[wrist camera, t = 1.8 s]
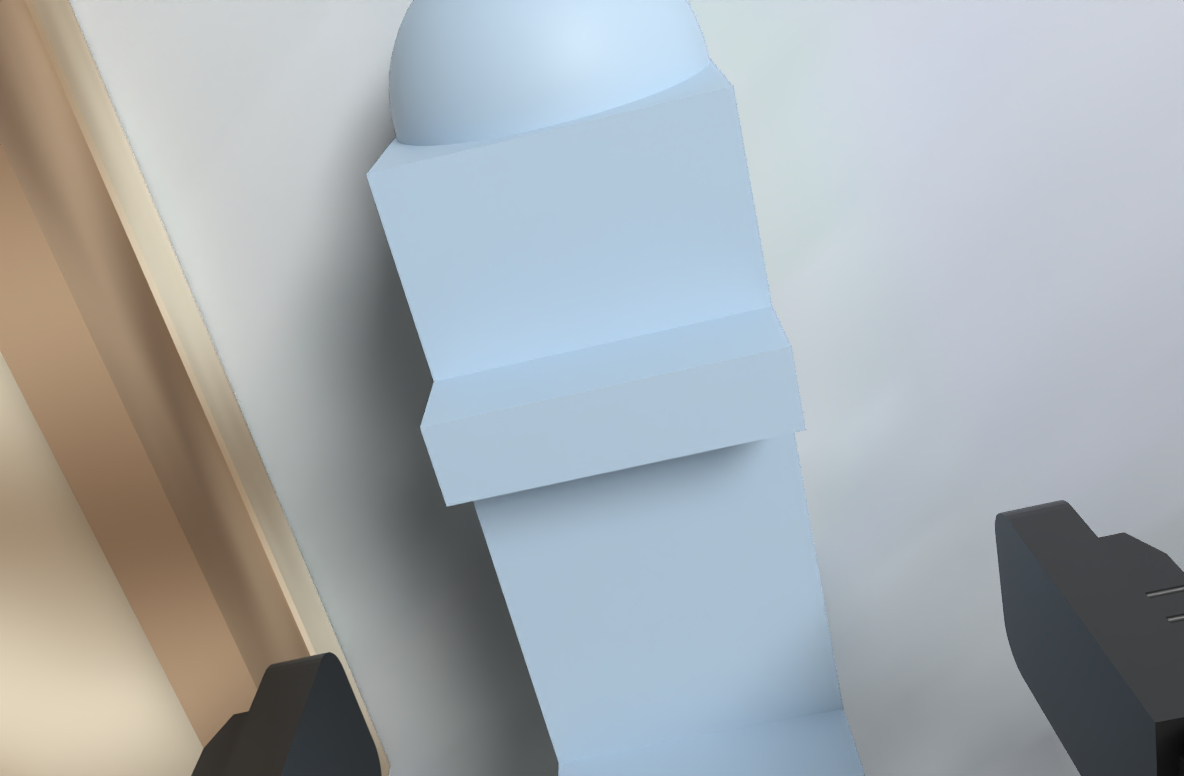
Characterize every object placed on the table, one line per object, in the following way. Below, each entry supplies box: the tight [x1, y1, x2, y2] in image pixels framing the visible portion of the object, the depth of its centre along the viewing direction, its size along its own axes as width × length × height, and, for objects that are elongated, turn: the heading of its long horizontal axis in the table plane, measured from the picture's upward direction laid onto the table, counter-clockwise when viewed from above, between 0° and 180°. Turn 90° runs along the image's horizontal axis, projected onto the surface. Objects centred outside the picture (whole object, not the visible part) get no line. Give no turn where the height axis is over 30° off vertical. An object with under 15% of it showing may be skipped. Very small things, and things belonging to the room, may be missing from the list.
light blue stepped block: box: [366, 0, 865, 776], centre depth 15 cm, size 14×4×6 cm, turn 13°
